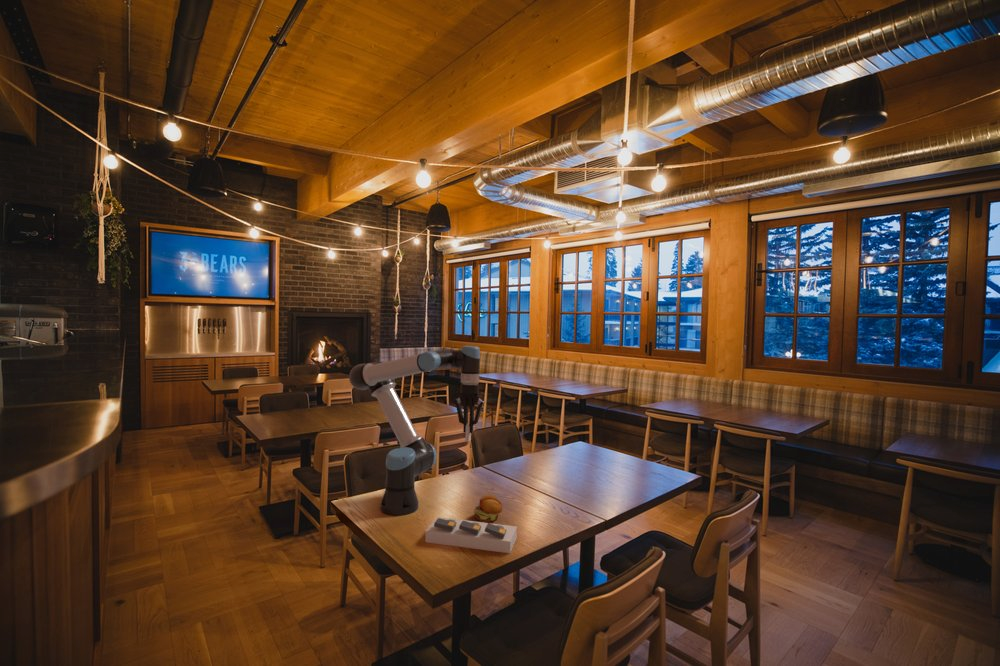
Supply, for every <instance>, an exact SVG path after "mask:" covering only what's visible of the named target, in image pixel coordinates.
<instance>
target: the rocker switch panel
mask: <svg viewBox="0 0 1000 666" xmlns="http://www.w3.org/2000/svg"><path fill="white" fill-rule="evenodd" d="M438 518H441V519H445V520H449V521H453V522H456V527H455V528H454V530H453V531H450V530H446V529H442V528H438V527H434V523H435V521H436V520H437V519H438ZM462 521H467V522H470V523H473V524H476V525H480V526H481V530H480V532H479V533H478V535H477V534H473V533H470V532H467V531H464V530H460V529H459V526H460V524H461V523H462ZM488 523H490V524H493V525H495V526H498V527H500V528H503V529H505V530H507V531H506V534H505V536H504V538H503V539H502V538H500V537H497V536H495V535H492V534H490V533H487V532H485V528H486V526H487V524H488ZM517 532H518V526H515V525H507V524H499V523H491V522H482V521H474V520H466V519H456V518H448V517H442V516H438V517H436V518H435V519H434V521H433V522H432V523H431V524H430V525H429V526H428V528H427V529H425V543H428V544H437V545H444V546H452V547H458V548H459V547H461V548H466V549H474V550H481V551H482V550H483V551H488V552H497V553H503V554H511V552H512V549H513V548H514V545H515V542H516V540H517V537H518V533H517Z"/></svg>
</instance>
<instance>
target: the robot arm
mask: <svg viewBox="0 0 1000 666" xmlns="http://www.w3.org/2000/svg"><path fill="white" fill-rule="evenodd" d="M480 362H481V351H480V347H479V346H476V345H463V346H462V347H461V349H460V350H458V349H449V348H448V349H447V348H439V349H437V350H427V351H424V352H422V353H418V354H414V355H410V356H405V357H401V358H397V359H393V360H388V361H374V362H368V363H359V364H356V365H355V366H353V367H352V369H351V370H350V372H349V375H348V379H349V383H350V385H351V386H352V387H353V388H354V389H356V390H359V391H369V393H370V395H371V397H373V398H376V399H377V401H378V403H379V405H380V407H381V409H382V411H383V413H384V414H385V418H386V419H387V421H388V423H389V425H390V427H391V430H392V431H393V434H394V435H395V437H396V439H397V440H398V443H399V446H400V447H397V448H394V449H392V450H389V452H388V453H387V454H386V458H385V486H384V487H385V488H384V489H385V491H384V493H383V496H382V498H381V502H380V511H381V512H382V513H383V514H386V515H391V516H403V515H409V514H412V513H414V512H416V511H417V510H418V509H419V500H418V496H417V492H416V489H415V478H416V477H419V475H420V476H421V475H422V474H424V473H426V472H428V471H430V469H432V468H433V467H434V466H435V464H436V462H437V460H438V455H437V454H438V453H437V450H436V448H435V447H434V445H433V444H431V443H429V442H427V441H426V440H425V438H424V436H421V435H419V434H418V432H417V430H416V428H415V426H414V425H413V423H412V421H411V419H410V417H409V414H408V413H407V410H406V409H405V407H404V405H403V403H402V401H401V399H400V397H399V395H398V394H397V391H396V389H395V387H396V382H395V380H396V379H398V378H403V377H409V376H413V375H417V374H421V373H427V372H432V371H438V370H442V369H450V368H453V369H460V383H461V384H460V394H459V396H458V398H455V399H454V400H453V402H454V404H455V407H456V412H457V417H458V423H459V424H463V430H462V431H463V433H465V436H464V437H465V440H464V441H465V442H470V441H471V440H472V434H473V433H474V426H475V425H477V424H478V423H479V419H480V416H481V413H482V408H483V407H484V405H485V400H482V399H481V398H480V395H479V394H480V393H479V392H480V391H479V390H480V385H479V383H480ZM461 403H462V404H461ZM476 404H477V405H478V406H477V409H476V413H475V407H476ZM462 405H463V408H462Z"/></svg>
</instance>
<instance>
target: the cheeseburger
mask: <svg viewBox="0 0 1000 666" xmlns="http://www.w3.org/2000/svg"><path fill="white" fill-rule="evenodd" d="M502 511H503V503H501V502H500V500H499V499H498V498H497V496H495V495H492V494H486V495H484V496H482V497H481V498H480V499H479V504H477V505H476V506H475V507H474V511H473V512H474V517H475V519H477V520H478V522H483V523H491V522H494V521H496V520H498V517H499V516H500V514H501V513H502Z"/></svg>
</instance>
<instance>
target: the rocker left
mask: <svg viewBox="0 0 1000 666" xmlns="http://www.w3.org/2000/svg"><path fill="white" fill-rule="evenodd" d="M434 521H435V520H434ZM434 527H438V528H442V529H446V530H450V531H453V530H454V528H455V527H456V522H453V521H449V520H445V519H441V518H438V519H437V520H436V521H435V523H434Z"/></svg>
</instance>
